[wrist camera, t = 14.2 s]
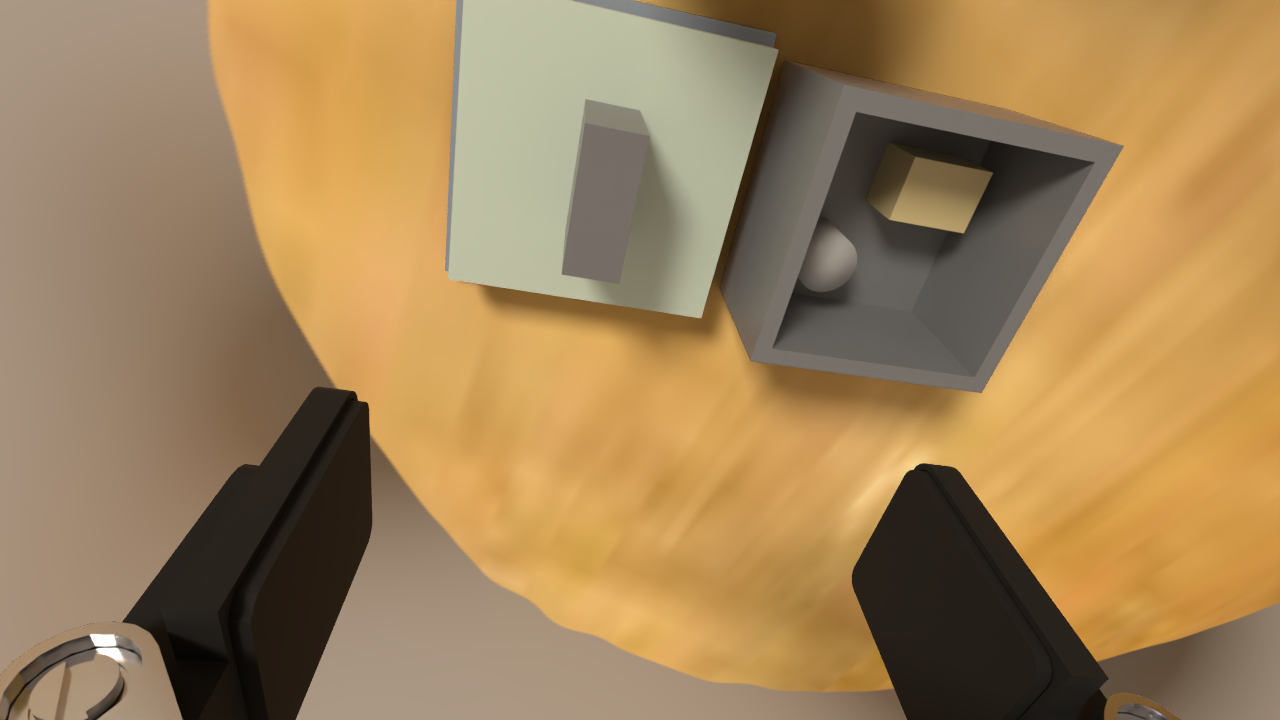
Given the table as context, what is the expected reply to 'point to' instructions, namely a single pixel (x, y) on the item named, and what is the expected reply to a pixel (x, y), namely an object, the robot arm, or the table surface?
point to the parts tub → (901, 228)
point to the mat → (622, 3)
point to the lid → (598, 152)
